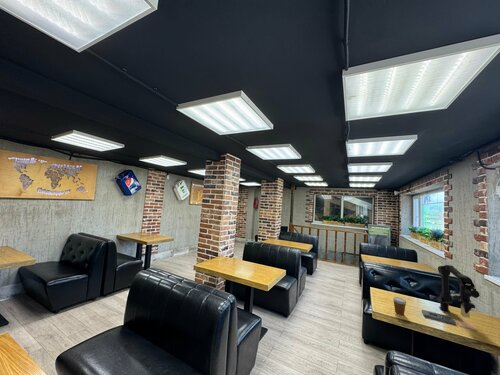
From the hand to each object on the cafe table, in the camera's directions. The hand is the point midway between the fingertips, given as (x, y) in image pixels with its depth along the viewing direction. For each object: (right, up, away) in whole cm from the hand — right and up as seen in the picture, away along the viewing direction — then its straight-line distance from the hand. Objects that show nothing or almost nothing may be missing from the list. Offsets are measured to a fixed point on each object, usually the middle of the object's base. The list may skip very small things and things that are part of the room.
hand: (465, 312), depth 167 cm
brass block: (0, -3, 0) cm, 3 cm away
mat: (-1, -10, -1) cm, 10 cm away
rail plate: (-15, -10, +8) cm, 20 cm away
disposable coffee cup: (-46, -9, +11) cm, 48 cm away
